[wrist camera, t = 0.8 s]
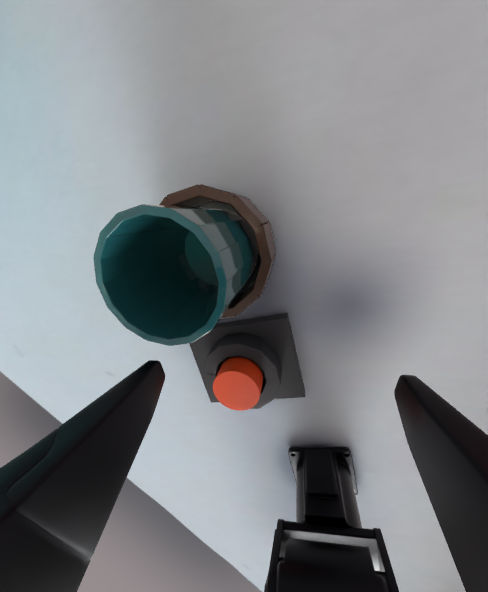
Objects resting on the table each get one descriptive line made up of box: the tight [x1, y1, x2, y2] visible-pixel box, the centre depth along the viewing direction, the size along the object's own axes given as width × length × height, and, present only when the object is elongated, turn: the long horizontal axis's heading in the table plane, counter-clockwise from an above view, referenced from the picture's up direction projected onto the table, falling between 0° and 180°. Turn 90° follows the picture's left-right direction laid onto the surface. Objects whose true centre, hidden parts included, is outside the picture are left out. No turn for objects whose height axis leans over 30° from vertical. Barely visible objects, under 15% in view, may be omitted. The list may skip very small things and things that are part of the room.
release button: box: [213, 357, 263, 410], centre depth 20 cm, size 4×4×2 cm
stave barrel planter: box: [160, 185, 276, 319], centre depth 18 cm, size 9×9×4 cm
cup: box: [94, 204, 259, 346], centre depth 16 cm, size 7×7×10 cm
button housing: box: [189, 313, 305, 409], centre depth 22 cm, size 10×8×3 cm
